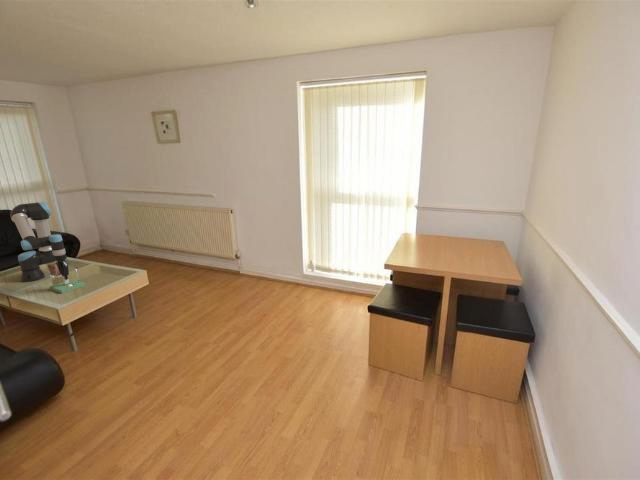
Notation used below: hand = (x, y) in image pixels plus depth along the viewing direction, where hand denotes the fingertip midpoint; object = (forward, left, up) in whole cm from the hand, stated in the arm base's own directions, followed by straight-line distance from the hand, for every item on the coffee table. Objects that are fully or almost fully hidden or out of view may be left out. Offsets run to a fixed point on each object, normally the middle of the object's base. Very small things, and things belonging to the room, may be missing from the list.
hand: (66, 283), depth 245 cm
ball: (+4, 0, -2) cm, 5 cm away
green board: (0, 0, -4) cm, 4 cm away
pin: (+5, +7, -1) cm, 8 cm away
